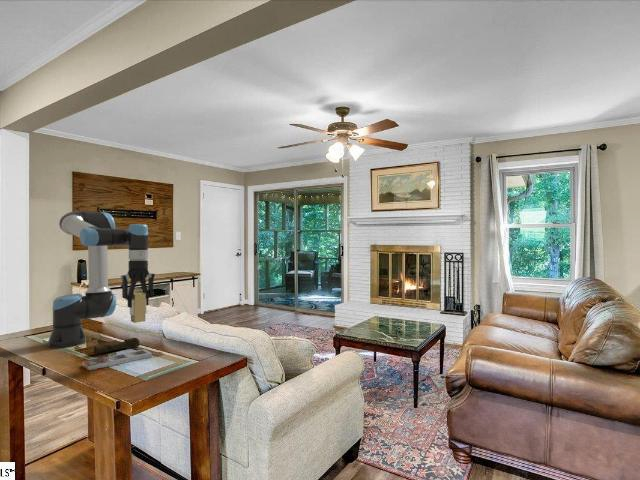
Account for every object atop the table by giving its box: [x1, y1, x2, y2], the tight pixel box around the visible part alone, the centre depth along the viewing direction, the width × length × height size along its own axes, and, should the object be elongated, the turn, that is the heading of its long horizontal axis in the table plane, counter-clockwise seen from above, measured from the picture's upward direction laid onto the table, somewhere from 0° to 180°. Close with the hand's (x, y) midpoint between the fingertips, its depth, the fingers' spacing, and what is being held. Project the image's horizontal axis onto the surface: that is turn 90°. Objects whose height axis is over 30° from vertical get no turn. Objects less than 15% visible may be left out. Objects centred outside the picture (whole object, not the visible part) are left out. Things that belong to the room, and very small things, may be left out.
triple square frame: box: [82, 349, 153, 371], centre depth 155 cm, size 8×24×2 cm, turn 137°
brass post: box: [130, 291, 147, 324], centre depth 161 cm, size 4×4×12 cm
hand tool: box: [93, 337, 140, 356], centre depth 170 cm, size 19×4×5 cm, turn 134°
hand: (138, 313), depth 161 cm, fingers closed on brass post, 4 cm apart
